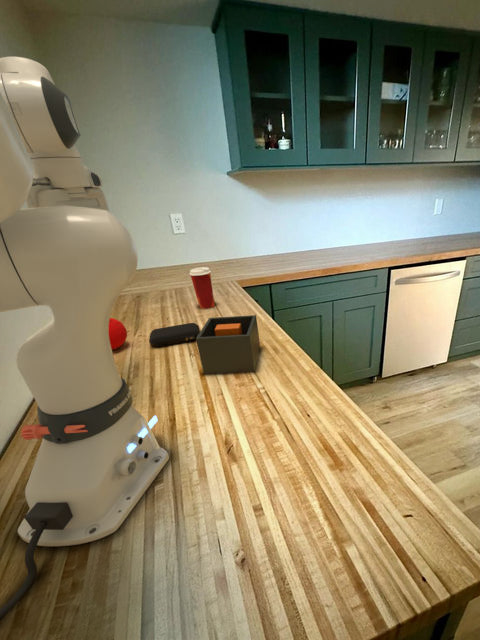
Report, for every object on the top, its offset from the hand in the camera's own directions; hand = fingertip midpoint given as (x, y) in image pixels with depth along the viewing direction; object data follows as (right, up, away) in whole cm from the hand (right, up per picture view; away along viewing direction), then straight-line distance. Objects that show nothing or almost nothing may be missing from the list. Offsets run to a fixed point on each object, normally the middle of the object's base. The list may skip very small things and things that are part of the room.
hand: (89, 255), depth 69 cm
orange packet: (+26, -20, +19) cm, 38 cm away
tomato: (-12, -17, +31) cm, 37 cm away
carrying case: (+6, -14, +34) cm, 37 cm away
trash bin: (+26, -21, +19) cm, 38 cm away
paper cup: (+8, +2, +60) cm, 61 cm away
